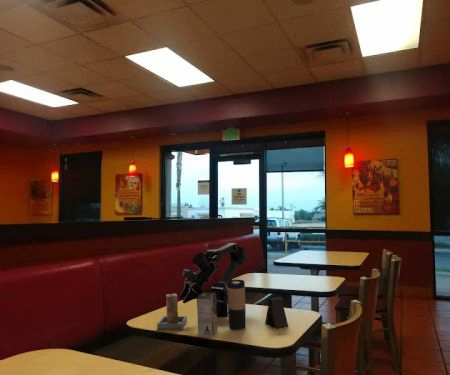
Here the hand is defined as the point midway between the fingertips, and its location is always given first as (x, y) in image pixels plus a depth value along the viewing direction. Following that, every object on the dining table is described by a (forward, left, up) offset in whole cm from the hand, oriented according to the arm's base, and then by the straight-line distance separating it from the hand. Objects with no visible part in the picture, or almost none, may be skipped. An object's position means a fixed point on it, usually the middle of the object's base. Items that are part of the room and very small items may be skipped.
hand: (181, 300), depth 173 cm
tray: (+4, +2, -11) cm, 12 cm away
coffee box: (-13, +11, -11) cm, 21 cm away
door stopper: (-43, +1, -11) cm, 44 cm away
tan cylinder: (+4, +2, -10) cm, 11 cm away
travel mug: (-25, +4, -11) cm, 28 cm away
